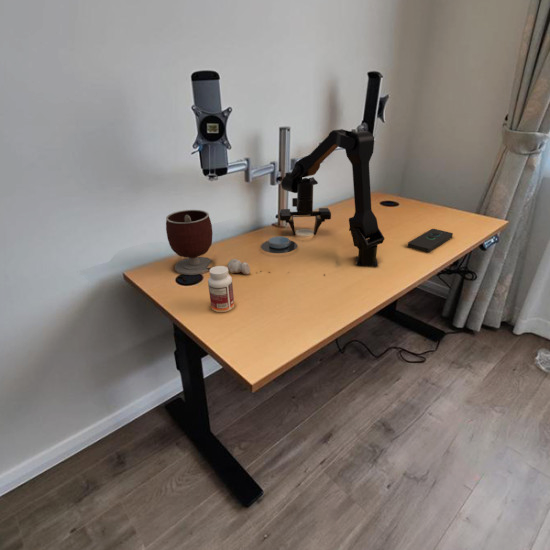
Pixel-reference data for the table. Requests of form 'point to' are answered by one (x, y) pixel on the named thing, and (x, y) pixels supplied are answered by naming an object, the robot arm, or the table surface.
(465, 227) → the table surface
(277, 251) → the charcoal plate
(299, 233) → the cream saucer
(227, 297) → the pill bottle
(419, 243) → the smart home device
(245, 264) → the pale two-lobed sculpture
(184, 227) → the mate gourd
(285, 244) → the blue saucer
